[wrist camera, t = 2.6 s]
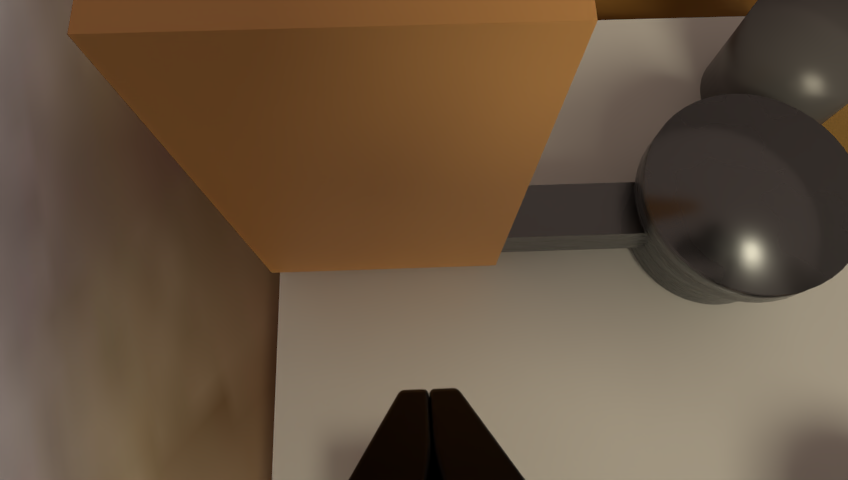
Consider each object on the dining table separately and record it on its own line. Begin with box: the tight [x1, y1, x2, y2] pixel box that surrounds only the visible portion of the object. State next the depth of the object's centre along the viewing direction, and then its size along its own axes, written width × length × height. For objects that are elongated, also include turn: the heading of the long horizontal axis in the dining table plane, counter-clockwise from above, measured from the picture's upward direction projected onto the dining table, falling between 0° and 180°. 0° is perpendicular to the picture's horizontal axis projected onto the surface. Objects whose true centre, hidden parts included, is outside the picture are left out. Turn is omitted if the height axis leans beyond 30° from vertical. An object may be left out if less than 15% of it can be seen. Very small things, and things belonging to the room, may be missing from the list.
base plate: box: [272, 0, 848, 480], centre depth 15 cm, size 22×16×4 cm
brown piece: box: [67, 0, 848, 305], centre depth 12 cm, size 15×5×10 cm, turn 92°
